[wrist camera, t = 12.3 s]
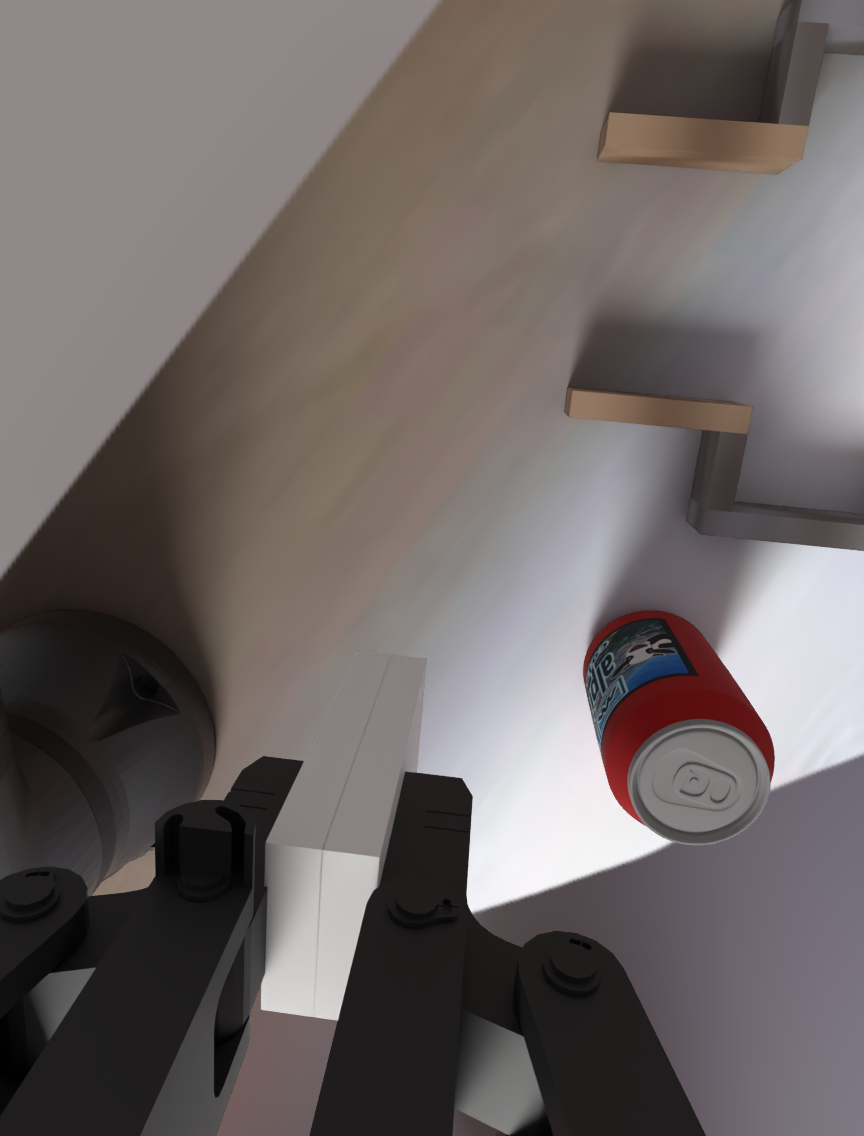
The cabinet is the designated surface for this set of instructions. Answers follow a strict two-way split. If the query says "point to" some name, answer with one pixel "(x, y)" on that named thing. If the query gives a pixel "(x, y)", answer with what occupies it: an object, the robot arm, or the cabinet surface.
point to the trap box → (803, 33)
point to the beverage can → (676, 730)
